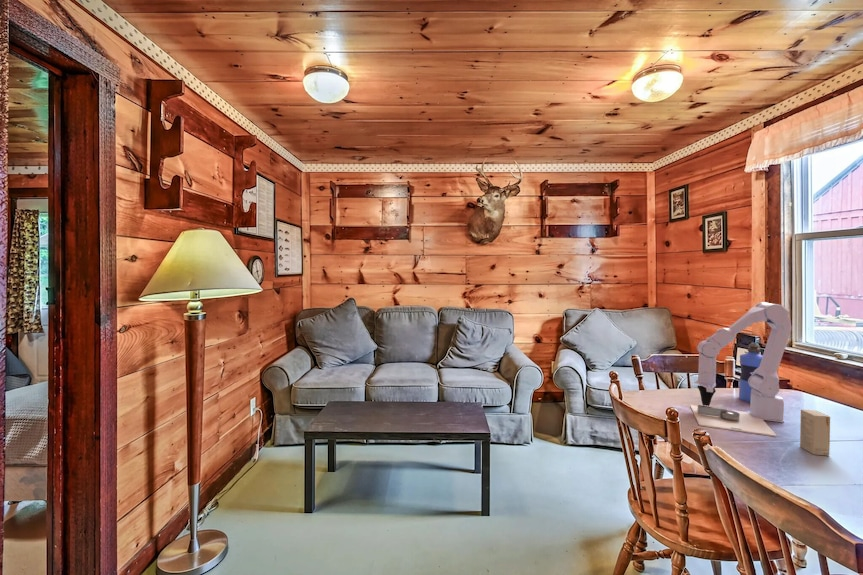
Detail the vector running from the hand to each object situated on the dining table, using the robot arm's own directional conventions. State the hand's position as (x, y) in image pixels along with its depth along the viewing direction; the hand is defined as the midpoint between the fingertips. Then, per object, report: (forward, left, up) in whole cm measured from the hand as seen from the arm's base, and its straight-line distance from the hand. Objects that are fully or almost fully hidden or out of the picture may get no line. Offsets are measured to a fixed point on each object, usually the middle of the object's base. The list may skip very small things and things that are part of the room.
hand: (705, 405), depth 157 cm
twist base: (-7, +6, -3) cm, 9 cm away
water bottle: (-21, -25, -3) cm, 33 cm away
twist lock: (-3, +6, -2) cm, 7 cm away
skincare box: (-25, +25, -3) cm, 35 cm away
